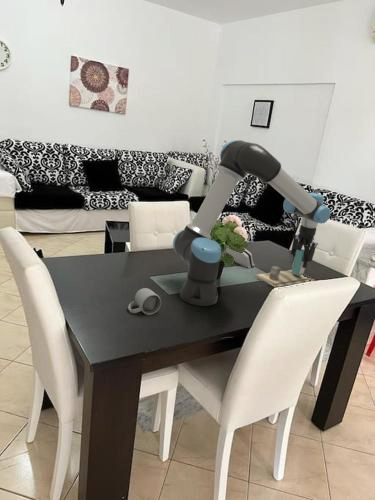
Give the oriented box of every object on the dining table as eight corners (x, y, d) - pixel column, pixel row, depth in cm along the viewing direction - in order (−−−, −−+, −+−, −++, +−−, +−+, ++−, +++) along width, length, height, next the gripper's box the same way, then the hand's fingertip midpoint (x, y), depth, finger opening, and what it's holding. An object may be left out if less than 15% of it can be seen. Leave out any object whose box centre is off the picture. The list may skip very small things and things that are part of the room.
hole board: (274, 289, 175) (277, 274, 173) (253, 277, 186) (256, 263, 184) (315, 282, 191) (318, 268, 188) (293, 271, 201) (296, 258, 199)
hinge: (255, 267, 200) (254, 250, 195) (249, 271, 198) (248, 254, 192) (231, 256, 211) (230, 240, 206) (225, 260, 209) (224, 244, 204)
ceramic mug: (150, 303, 145) (152, 284, 143) (160, 313, 139) (162, 293, 136) (124, 307, 140) (125, 287, 137) (133, 317, 133) (134, 297, 131)
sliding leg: (296, 277, 190) (302, 252, 186) (290, 273, 193) (296, 249, 189) (302, 276, 192) (308, 252, 188) (296, 273, 195) (302, 249, 191)
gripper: (328, 231, 180) (316, 277, 187) (300, 220, 193) (289, 264, 200) (317, 231, 176) (305, 279, 183) (289, 221, 189) (279, 265, 196)
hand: (297, 271), depth 192 cm, fingers closed on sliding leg, 4 cm apart
